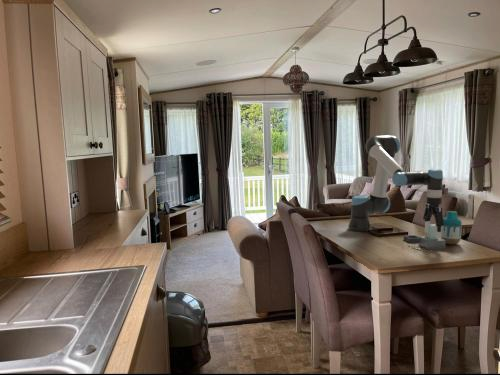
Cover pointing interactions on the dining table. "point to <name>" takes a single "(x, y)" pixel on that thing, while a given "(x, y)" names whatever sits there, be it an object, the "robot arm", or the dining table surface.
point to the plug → (431, 232)
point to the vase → (451, 228)
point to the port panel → (432, 243)
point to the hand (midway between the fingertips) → (432, 234)
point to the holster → (411, 238)
